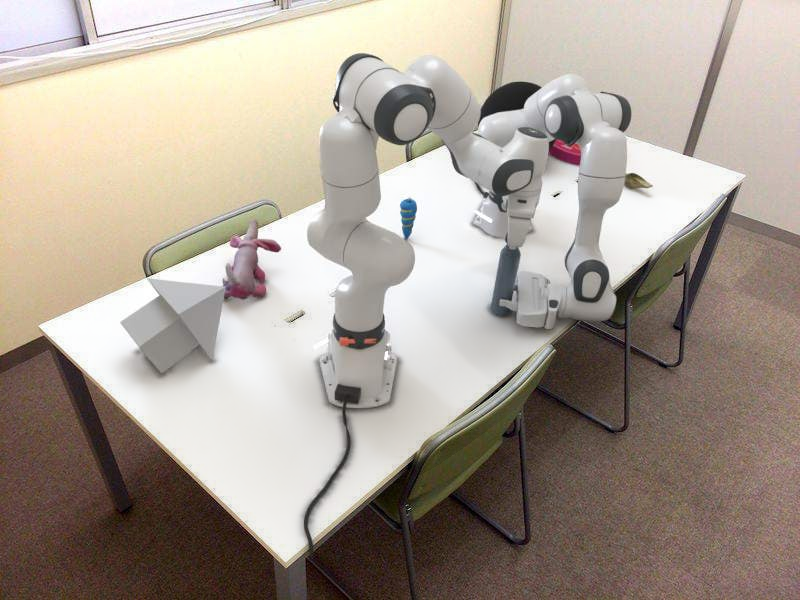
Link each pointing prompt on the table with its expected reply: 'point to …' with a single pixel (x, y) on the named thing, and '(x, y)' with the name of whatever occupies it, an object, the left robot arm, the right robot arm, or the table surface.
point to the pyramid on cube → (176, 321)
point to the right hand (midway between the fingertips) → (499, 294)
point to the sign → (566, 152)
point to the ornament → (408, 216)
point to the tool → (636, 181)
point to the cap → (506, 238)
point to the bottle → (505, 279)
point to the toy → (247, 265)
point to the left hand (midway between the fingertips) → (512, 242)
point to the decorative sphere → (509, 99)
